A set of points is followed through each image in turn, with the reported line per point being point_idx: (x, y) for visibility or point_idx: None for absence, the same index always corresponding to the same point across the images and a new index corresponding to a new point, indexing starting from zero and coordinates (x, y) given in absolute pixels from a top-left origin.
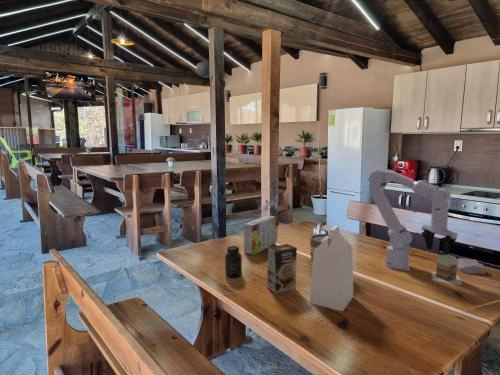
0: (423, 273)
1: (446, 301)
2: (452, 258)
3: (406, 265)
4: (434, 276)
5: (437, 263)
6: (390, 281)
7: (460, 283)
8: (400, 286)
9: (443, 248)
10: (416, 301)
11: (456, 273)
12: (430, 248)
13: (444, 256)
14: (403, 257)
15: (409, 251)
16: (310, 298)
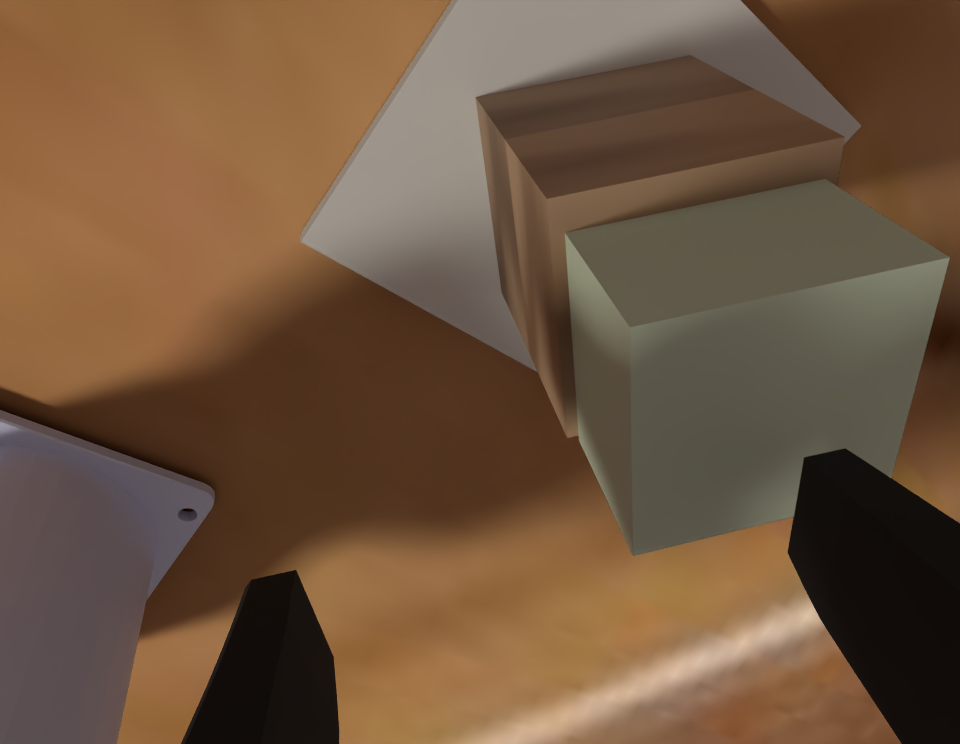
0: (311, 350)
1: (937, 506)
2: (911, 372)
3: (135, 545)
4: (492, 308)
5: (573, 423)
6: (451, 715)
7: (818, 111)
8: (568, 683)
9: (899, 728)
10: (811, 672)
11: (741, 83)
12: (311, 627)
13: (748, 472)
14: (123, 709)
15: (20, 719)
16: None
